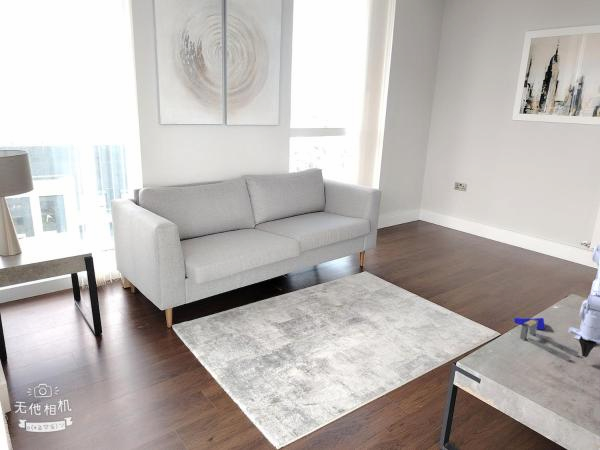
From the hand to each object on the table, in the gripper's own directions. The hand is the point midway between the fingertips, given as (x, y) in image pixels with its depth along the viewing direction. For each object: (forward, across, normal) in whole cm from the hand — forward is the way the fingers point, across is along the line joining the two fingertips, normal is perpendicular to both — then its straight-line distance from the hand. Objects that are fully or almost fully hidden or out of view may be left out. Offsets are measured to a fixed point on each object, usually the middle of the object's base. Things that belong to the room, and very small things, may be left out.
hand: (585, 355), depth 168 cm
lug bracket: (+3, -23, 0) cm, 23 cm away
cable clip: (+1, -27, +9) cm, 28 cm away
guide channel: (+3, -12, 0) cm, 13 cm away
